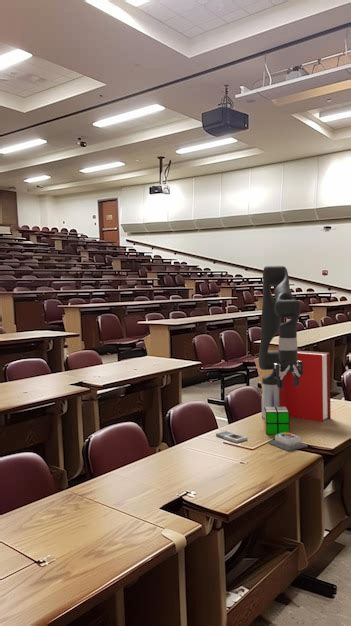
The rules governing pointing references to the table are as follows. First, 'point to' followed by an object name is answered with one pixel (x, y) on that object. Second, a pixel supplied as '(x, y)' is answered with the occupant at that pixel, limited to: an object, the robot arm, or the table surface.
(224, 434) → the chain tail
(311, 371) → the book
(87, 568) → the table surface
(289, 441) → the link
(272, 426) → the puzzle cube
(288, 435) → the keeper
